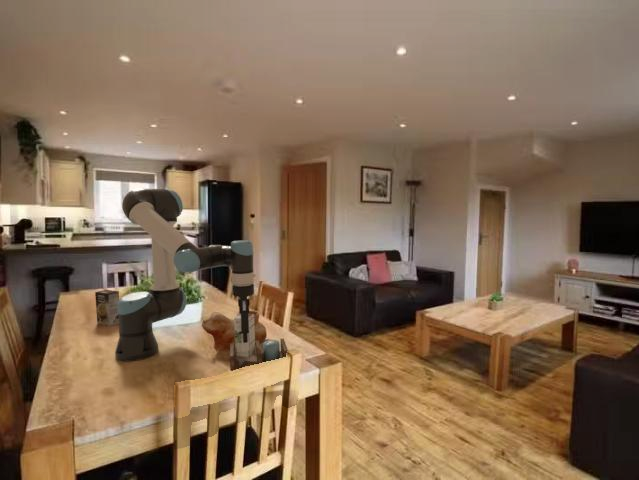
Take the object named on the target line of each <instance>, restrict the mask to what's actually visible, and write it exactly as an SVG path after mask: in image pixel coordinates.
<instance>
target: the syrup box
mask: <svg viewBox="0 0 639 480" xmlns="http://www.w3.org/2000/svg"><path fill="white" fill-rule="evenodd" d="M233 320H234V329H235V349H234V356H236V357H246V358H250V357H251V356H252V355H253V354H256V345H255V329H254V314H248V325H249V350H250V351H242V347H241V334H239V332H241V314H239V315H237V314H236V316H235V317H233ZM246 330H247V329H246Z"/></svg>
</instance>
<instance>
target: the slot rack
mask: <svg viewBox="0 0 639 480" xmlns="http://www.w3.org/2000/svg"><path fill="white" fill-rule="evenodd" d="M287 351H288V352H289V349H288V347H287V344H286V341H285V339H284V338H280V358H283V357H286V353H287ZM262 362H266V361H264V360H263V352H262V350H261V343H259V341H256V345H255V353H254V354H253V355H252V356H251V357H250V358H246V357H236V355H235V349H234V343H230V349H229V365H230V368H229V369H230V371H236V370H235V369H239V368H242V367H245V366H250V365H254V364H259V363H262ZM239 370H240V369H239Z"/></svg>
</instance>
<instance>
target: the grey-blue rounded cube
mask: <svg viewBox="0 0 639 480" xmlns="http://www.w3.org/2000/svg"><path fill="white" fill-rule="evenodd" d="M262 351H263V352H262V353H263V360H264V361H271V360H275V359H279V358H280V351H281V344H280V341H279V340H276V339H267V340H264V341H262Z"/></svg>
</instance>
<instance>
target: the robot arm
mask: <svg viewBox="0 0 639 480" xmlns="http://www.w3.org/2000/svg"><path fill="white" fill-rule="evenodd" d="M121 204H122V205H121V207H122V212H123V213H124V215H125V217H126V218H127V220H128V221H130V222H131V223H132V224H134V225H136V226H137V225H138V226H139V227H141V229H143V230H144V231H145V232H146V233H147V234H148V235H149V236H150V237H151V252H152V253H151V257H152V258H151V259H152V277H153V284H152V285H151V286H150V287H149V292H148V291H138V292H132V293H129V294H126V295H124V296H122V297H121V298H119V301H118V309H117V313H118V322H119V323H118V331H119V332H118V333H119V335H118V336H119V338H118V341H117V344H116V347H115V351H114V354H115V359H116V360H118V361H121V362H133V361H134V362H135V361H139V360H140V361H141V360H144V359H147V358H150V357H152V356H154V355H156V354H157V353H158V352H159V343H158V341H157V339H156V336H155V334H154V331H153V324H155V323H156V322H160V321H163V320H166V319H167V320H168V319H171V318H174V317H176V316H179V315H181V314H182V312H184V310H185V308H186V306H187V302H188V301H187V295H186V293H185V291H184V289H182V288H181V287H180V284H179V283H178V282H177V280H176V279H177V278H176V270H177V271H178V272H179V273H194V272H198V271H201V270H202V271H203V270H208V269H212V268H217V267H231V283H232V295H233V296H234V297H237V298H239V299H237V305H238V312H239V313H240V314H241V332H239V334H241V347H242V351H250V350H249V325H248V313H249V311H250V305H251V303H250V298H248V297H251V296H253V295H254V294H255V284H254V281H255V280H254V278H255V277H256V274H255V273H254V249H253V248H254V247H253V246H254V245H253V242H252V241H251V240H247V239H245V240H233V241H231V242H230V245H223V244H222V245H221V244H210V245H209V246H207V247H197V246H196V245H195V244H194V243H193V242H191V241H190V240H189V239H188V238H186V237H185V236H184V234H182V233H181V232H180V231H179V230H177V228H175V227H174V226H175V224H177V222H178V217H179V216H180V215H182V212H183V210H184V209H183V208H184V207H183V206H184V204H183V200H182V198H181V197H180V195H179V194H178V192H176V191H175V190H173V189H166V188H143V187H141V188H140V187H139V188H135V189H132V190H130V191H129V192H127V193H126V194H125V196H123V199H122V202H121ZM246 329H247V330H246Z"/></svg>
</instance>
